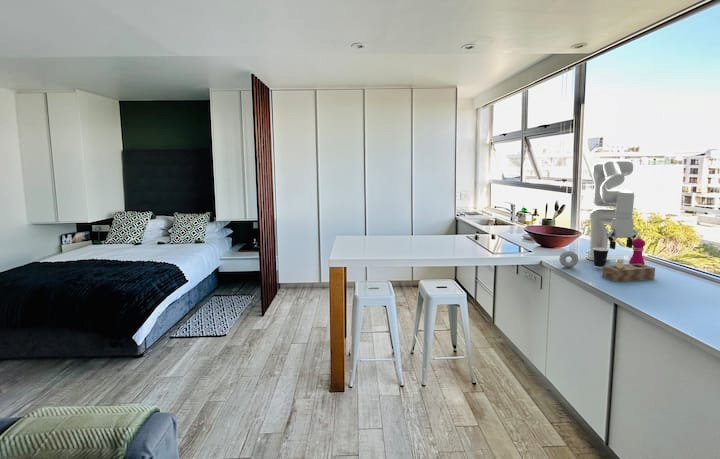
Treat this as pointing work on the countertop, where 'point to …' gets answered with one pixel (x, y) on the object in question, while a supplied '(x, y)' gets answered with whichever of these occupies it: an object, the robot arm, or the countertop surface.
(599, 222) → the robot arm
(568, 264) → the donut
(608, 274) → the hole block
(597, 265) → the dixie cup
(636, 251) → the pepper mill
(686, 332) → the countertop surface
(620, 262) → the brass peg
